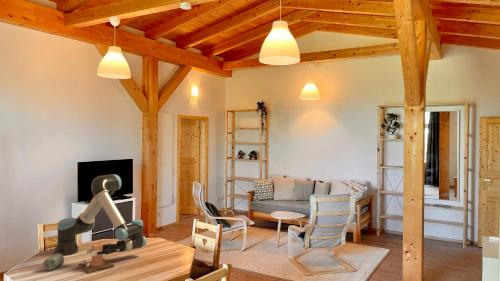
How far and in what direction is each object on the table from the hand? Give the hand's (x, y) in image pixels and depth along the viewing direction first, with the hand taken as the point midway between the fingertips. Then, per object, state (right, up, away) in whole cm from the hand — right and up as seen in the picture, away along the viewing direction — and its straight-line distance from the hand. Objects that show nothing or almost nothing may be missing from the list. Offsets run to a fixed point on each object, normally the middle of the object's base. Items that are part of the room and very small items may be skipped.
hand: (89, 252), depth 228 cm
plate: (+3, -10, +3) cm, 11 cm away
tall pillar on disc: (+3, -9, +4) cm, 10 cm away
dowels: (-2, -8, -1) cm, 9 cm away
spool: (-22, -10, 0) cm, 25 cm away
